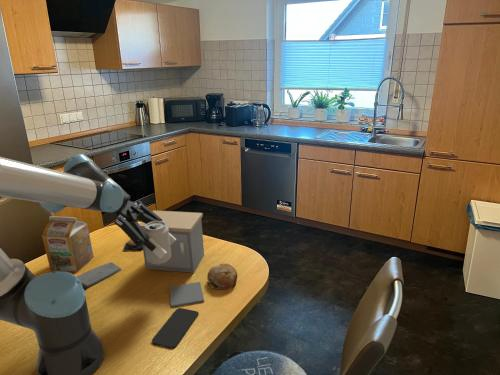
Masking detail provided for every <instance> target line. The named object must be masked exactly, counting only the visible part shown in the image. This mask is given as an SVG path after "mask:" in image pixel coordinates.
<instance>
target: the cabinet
mask: <svg viewBox="0 0 500 375" xmlns="http://www.w3.org/2000/svg"><path fill="white" fill-rule="evenodd" d="M152 212H153V213H155V214H156V215H157V216H159V217H160V218H161V219H162V221H163V222H165V223H166V226H167V227H168V228H169V233H170V234H171V235H173V236H174V237H175V238H176V240H175V241H174V242H173V243H172V244H171V245H170V248H171V258H170V259H169V260H168V261H167V262H165V263H163V264H152V263H150V262H148V261H147V258H146V250H145V245H142V246H143V250H142V251H143V258H144V267H145V269H146V270H158V271H166V272H167V271H168V272H169V271H170V272H181V273H193V274H194V273H195V271H196V270H197V268H198V267H199V266H200V263H201V261H202V260H203V258H204V256H205V248H204V236H203V225H202V222H203V221H202V218H203V214H204V213H203V212H190V211H170V210H168V211H167V210H152ZM139 225H140V226H141V228H142V229H143V230H144V229H145V225H146V224H145V223H143V222H142V221H140V223H139Z"/></svg>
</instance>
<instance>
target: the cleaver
mask: <svg viewBox="0 0 500 375" xmlns="http://www.w3.org/2000/svg"><path fill="white" fill-rule="evenodd" d="M121 270H122V267H120V266H118V265H116V264H115V263H114V262H111V261H110V262H108V263H105V264H103V265H102V264H101V265H99V266H97V267H95V268H91V269H90V270H88V271H85V272H83V273H81V274H80V275H78V276H76V277H77V278H78V279H79V280H80V282H81V284H82V287H83V289H84V291H87V289H88V288H90V287H91V286H94V285H95V284H98V283H100V282H102V281H104V280H106V279H107V278H110V277H111V276H113V275H115V274H117V273H119V272H120V271H121Z"/></svg>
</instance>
